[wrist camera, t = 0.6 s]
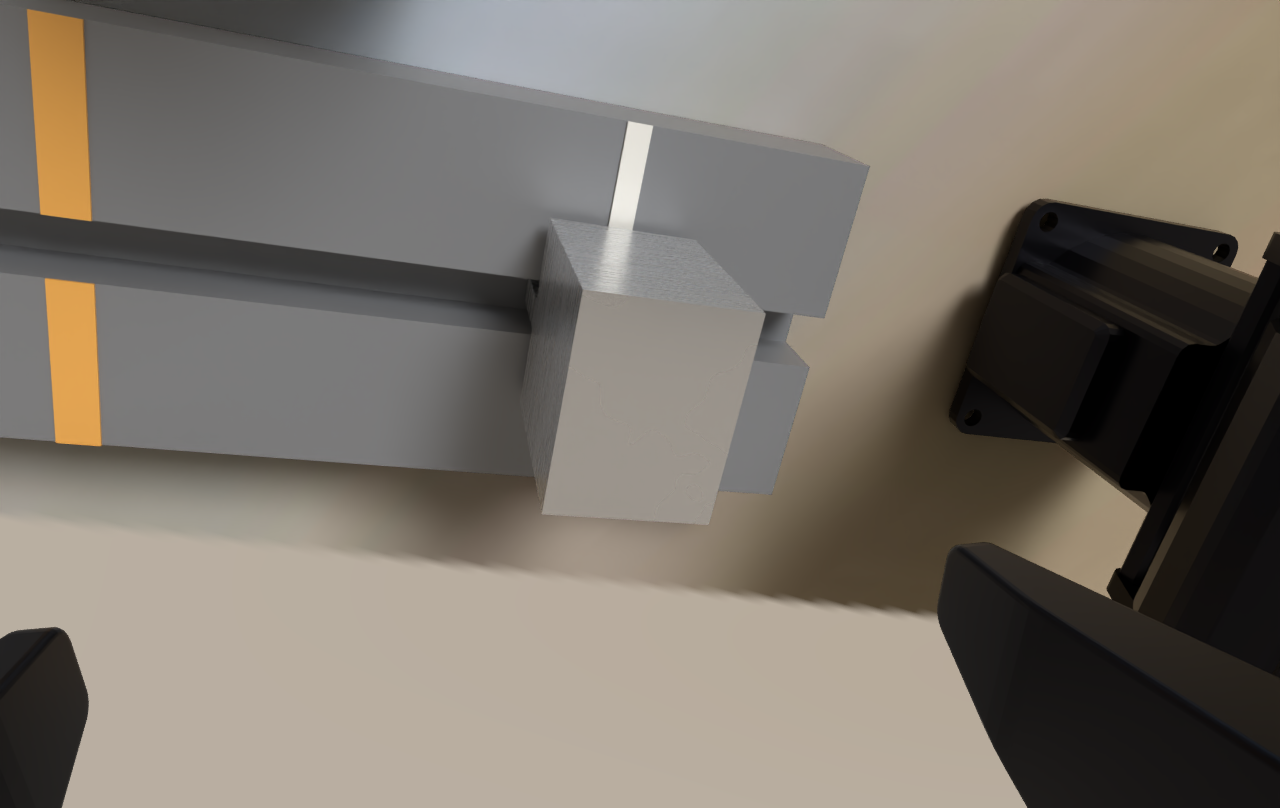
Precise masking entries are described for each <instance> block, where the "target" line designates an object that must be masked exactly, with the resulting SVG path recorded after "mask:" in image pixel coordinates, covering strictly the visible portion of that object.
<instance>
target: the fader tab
mask: <svg viewBox="0 0 1280 808" xmlns="http://www.w3.org/2000/svg"><path fill="white" fill-rule="evenodd" d="M525 303H526V307H527V311H528V315H529V318H530V322H531V326H532V332H531V338H530V344H529V350H528V356H527V362H526V368H525V375H524V381H523V387H522V393H521V399H520V405H521V410H522V416H523V421H524V426H525V431H526V436H527V441H528V446H529V451H530V457H531V462H532V467H533V472H534V477H535V482H536V487H537V492H538V498H539V503H540V508H541V513H542V514H544V515H560V516H576V517H592V518H608V519H623V520H639V521H655V522H671V523H687V524H702V525H709V522H710V518H711V515H712V511H713V507H714V504H715V500H716V496H717V492H718V489H719V485H720V481H721V478H722V474H723V470H724V467H725V463H726V459H727V456H728V452H729V448H730V444H731V441H732V437H733V433H734V430H735V426H736V422H737V419H738V415H739V411H740V408H741V404H742V400H743V396H744V393H745V389H746V385H747V382H748V378H749V374H750V371H751V367H752V363H753V360H754V356H755V352H756V348H757V345H758V341H759V337H760V334H761V330H762V326H763V323H764V319H765V315H766V313H765V312H764V311H763V310H762V309H761V308H760V307H759V306H758V305H757V304H756V303H755V302H754V301H753V300H752V299H751V298H750V297H749V296H748V294H747V293H746V292H745V291H744V290H743V289H742V288H741V287H740V286H739V285H738V284H737V283H736V282H735V281H734V280H733V279H732V278H731V277H730V276H729V275H728V274H727V273H726V271H725V270H724V269H723V268H722V267H721V266H720V265H719V264H718V263H717V262H716V261H715V260H714V259H713V258H712V257H711V256H710V255H709V254H708V253H707V252H706V251H705V249H704V248H703V247H702V246H701V245H700V244H699V243H698V242H697V241H696V240H692V239H686V238H679V237H673V236H666V235H660V234H653V233H647V232H640V231H634V230H627V229H621V228H614V227H607V226H601V225H594V224H588V223H581V222H575V221H568V220H562V219H555V218H550V221H549V227H548V233H547V239H546V245H545V251H544V258H543V264H542V270H541V276H540V280H534V279H528V283H527V289H526V296H525Z"/></svg>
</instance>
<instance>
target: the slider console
mask: <svg viewBox="0 0 1280 808" xmlns="http://www.w3.org/2000/svg"><path fill="white" fill-rule="evenodd" d="M869 167H870V166H868V165H866V164H864V163H862V162H860V161H857V160H855V159H853V158H851V157H849V156H846V155H844V154H842V153H840V152H838V151H835V150H833V149H831V148H829V147H827V146H825V145H822V144H817V143H812V142H807V141H801V140H796V139H791V138H786V137H781V136H775V135H770V134H765V133H760V132H754V131H749V130H744V129H739V128H733V127H728V126H723V125H718V124H712V123H707V122H702V121H697V120H692V119H686V118H681V117H676V116H671V115H665V114H660V113H655V112H650V111H644V110H639V109H634V108H629V107H624V106H618V105H613V104H608V103H603V102H597V101H592V100H587V99H582V98H576V97H571V96H566V95H561V94H555V93H550V92H545V91H540V90H535V89H529V88H524V87H519V86H514V85H508V84H503V83H498V82H493V81H487V80H482V79H477V78H472V77H467V76H461V75H456V74H451V73H446V72H440V71H435V70H430V69H425V68H419V67H414V66H409V65H404V64H398V63H393V62H388V61H383V60H378V59H372V58H367V57H362V56H357V55H351V54H346V53H341V52H336V51H330V50H325V49H320V48H315V47H310V46H304V45H299V44H294V43H289V42H283V41H278V40H273V39H268V38H262V37H257V36H252V35H247V34H241V33H236V32H231V31H226V30H221V29H215V28H210V27H205V26H200V25H194V24H189V23H184V22H179V21H173V20H168V19H163V18H158V17H152V16H147V15H142V14H137V13H132V12H126V11H121V10H116V9H111V8H105V7H100V6H95V5H90V4H84V3H79V2H74V1H69V0H0V437H3V438H16V439H30V440H43V441H56V443H63V444H77V445H91V446H102V445H111V446H124V447H137V448H151V449H164V450H178V451H191V452H205V453H218V454H231V455H245V456H258V457H272V458H285V459H299V460H312V461H326V462H339V463H352V464H366V465H379V466H393V467H406V468H420V469H433V470H447V471H460V472H473V473H487V474H500V475H514V476H527V477H534V472H533V467H532V462H531V457H530V451H529V446H528V441H527V436H526V431H525V426H524V421H523V416H522V410H521V405H520V399H521V393H522V387H523V381H524V375H525V368H526V362H527V356H528V350H529V344H530V338H531V332H532V326H531V322H530V318H529V315H528V311H527V307H526V303H525V296H526V289H527V283H528V279H534V280H540V276H541V270H542V264H543V258H544V251H545V245H546V239H547V233H548V227H549V221H550V218H555V219H562V220H568V221H575V222H581V223H588V224H594V225H601V226H607V227H614V228H621V229H627V230H634V231H640V232H647V233H653V234H660V235H666V236H673V237H679V238H686V239H692V240H696V241H697V242H698V243H699V244H700V245H701V246H702V247H703V248H704V249H705V251H706V252H707V253H708V254H709V255H710V256H711V257H712V258H713V259H714V260H715V261H716V262H717V263H718V264H719V265H720V266H721V267H722V268H723V269H724V270H725V271H726V273H727V274H728V275H729V276H730V277H731V278H732V279H733V280H734V281H735V282H736V283H737V284H738V285H739V286H740V287H741V288H742V289H743V290H744V291H745V292H746V293H747V294H748V296H749V297H750V298H751V299H752V300H753V301H754V302H755V303H756V304H757V305H758V306H759V307H760V308H761V309H762V310H763V311H764V312H765V313H766V315H765V319H764V323H763V326H762V330H761V334H760V337H759V341H758V345H757V348H756V352H755V356H754V360H753V363H752V367H751V371H750V374H749V378H748V382H747V385H746V389H745V393H744V396H743V400H742V404H741V408H740V411H739V415H738V419H737V422H736V426H735V430H734V433H733V437H732V441H731V444H730V448H729V452H728V456H727V459H726V463H725V467H724V470H723V474H722V478H721V481H720V485H719V489H718V491H729V492H742V493H756V494H769V495H772V492H773V488H774V485H775V482H776V478H777V475H778V471H779V468H780V465H781V461H782V458H783V455H784V451H785V448H786V445H787V441H788V438H789V435H790V431H791V428H792V425H793V421H794V418H795V415H796V411H797V408H798V405H799V401H800V398H801V395H802V391H803V388H804V385H805V381H806V378H807V374H808V371H809V368H810V367H809V366H808V365H807V364H806V363H805V362H804V361H803V360H802V359H801V358H800V357H799V356H798V354H797V353H796V352H795V351H794V350H793V349H792V348H791V347H790V346H789V345H788V344H787V343H786V338H787V335H788V331H789V328H790V324H791V321H792V317H793V314H795V315H803V316H810V317H817V318H825V314H826V311H827V308H828V304H829V301H830V298H831V294H832V291H833V287H834V284H835V281H836V277H837V274H838V271H839V267H840V264H841V261H842V257H843V254H844V251H845V247H846V244H847V241H848V237H849V234H850V231H851V227H852V224H853V221H854V217H855V214H856V211H857V207H858V204H859V201H860V197H861V194H862V190H863V187H864V184H865V180H866V177H867V174H868V170H869Z"/></svg>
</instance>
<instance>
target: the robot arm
mask: <svg viewBox="0 0 1280 808" xmlns="http://www.w3.org/2000/svg"><path fill="white" fill-rule="evenodd" d="M1046 213H1048V214H1049V215H1048V220H1047V222H1046V223H1045V225H1043V226H1042V227H1040V226H1039V224H1040V220H1041V218H1042V217H1043V215H1045V214H1046ZM1216 247H1218V250H1217V251H1216V253H1215V254H1214V255H1213V252H1214V250H1215V249H1216ZM1237 250H1238V242H1237V240H1236V238H1235V237H1233V236H1231V235H1229V234H1226V233H1223V232H1220V231H1217V230H1211V229H1206V228H1201V227H1195V226H1190V225H1185V224H1179V223H1174V222H1169V221H1163V220H1158V219H1152V218H1147V217H1142V216H1136V215H1131V214H1126V213H1120V212H1115V211H1110V210H1104V209H1099V208H1094V207H1088V206H1083V205H1078V204H1072V203H1067V202H1062V201H1056V200H1051V199H1039V200H1037V201H1034V202H1032V203H1031V204H1030V205H1029V206H1028V207H1027V208H1026V210H1025V212H1024V214H1023V216H1022V218H1021V221H1020V224H1019V226H1018V229H1017V232H1016V234H1015V237H1014V240H1013V242H1012V245H1011V248H1010V250H1009V253H1008V256H1007V258H1006V261H1005V264H1004V266H1003V269H1002V272H1001V274H1000V277H999V279H998V281H997V283H996V285H995V288H994V291H993V293H992V296H991V299H990V301H989V304H988V307H987V309H986V312H985V315H984V317H983V320H982V323H981V325H980V328H979V331H978V333H977V336H976V339H975V342H974V344H973V347H972V350H971V352H970V355H969V358H968V360H967V365H966V368H965V371H964V373H963V376H962V379H961V381H960V384H959V387H958V389H957V392H956V395H955V397H954V400H953V403H952V405H951V408H950V412H949V419H950V422H951V423H952V424H953V425H954V426H955V427H956V428H957V429H958V430H960V431H961V432H963V433H966V434H973V435H983V436H993V437H1003V438H1012V439H1022V440H1032V441H1042V442H1052V443H1057V444H1059V445H1060V446H1061V447H1063V448H1064V449H1065V450H1067V451H1068V452H1069V453H1070V454H1072V455H1073V456H1074V457H1076V458H1077V459H1078V460H1080V461H1081V462H1082V463H1084V464H1085V465H1086V466H1087V467H1089V468H1090V469H1091V470H1093V471H1094V472H1095V473H1097V474H1098V475H1099V476H1101V477H1102V478H1103V479H1104V480H1106V481H1107V482H1108V483H1110V484H1111V485H1112V486H1114V487H1115V488H1116V489H1118V490H1119V491H1120V492H1121V493H1123V494H1124V495H1125V496H1127V497H1128V498H1129V499H1131V500H1132V501H1133V502H1135V503H1136V504H1137V505H1138V506H1140V507H1141V508H1142V509H1144V510H1145V511H1146V512H1148V513H1147V515H1146V517H1145V519H1144V521H1143V523H1142V525H1141V527H1140V529H1139V532H1138V534H1137V536H1136V538H1135V540H1134V542H1133V544H1132V546H1131V548H1130V551H1129V553H1128V555H1127V557H1126V559H1125V561H1124V563H1123V565H1122V568H1117V569H1116V570H1115V571H1114V573H1113V575H1112V578H1111V580H1110V582H1109V584H1108V586H1107V588H1106V589H1107V592H1108V593H1109V595H1110V597H1111V599H1109V598H1107V597H1105V596H1103V595H1101V594H1099V593H1097V592H1094V591H1092V590H1090V589H1088V588H1086V587H1084V586H1082V585H1079V584H1077V583H1075V582H1073V581H1071V580H1069V579H1067V578H1064V577H1062V576H1060V575H1058V574H1056V573H1054V572H1052V571H1049V570H1047V569H1045V568H1043V567H1041V566H1039V565H1037V564H1034V563H1032V562H1030V561H1028V560H1026V559H1024V558H1022V557H1019V556H1017V555H1015V554H1013V553H1011V552H1009V551H1007V550H1004V549H1002V548H1000V547H998V546H996V545H994V544H991V543H986V542H983V543H972V544H961V545H956V546H954V547H953V548H952V549H951V550H950V551H949V553H948V556H947V559H946V564H945V569H944V574H943V579H942V584H941V589H940V594H939V599H938V606H937V614H938V620H939V624H940V627H941V630H942V632H943V634H944V637H945V639H946V641H947V643H948V646H949V648H950V650H951V653H952V655H953V657H954V659H955V662H956V664H957V666H958V669H959V671H960V673H961V675H962V678H963V680H964V682H965V685H966V687H967V689H968V691H969V694H970V696H971V698H972V701H973V703H974V705H975V707H976V710H977V712H978V714H979V717H980V719H981V721H982V723H983V725H984V728H985V730H986V732H987V734H988V736H989V738H990V740H991V742H992V745H993V747H994V749H995V751H996V752H997V754H998V756H999V758H1000V760H1001V762H1002V763H1003V765H1004V767H1005V769H1006V771H1007V772H1008V774H1009V776H1010V778H1011V780H1012V781H1013V783H1014V785H1015V787H1016V788H1017V790H1018V791H1019V794H1020V795H1021V797H1022V799H1023V801H1024V802H1025V804H1026V806H1027V808H1280V232H1274V233H1273V235H1272V238H1271V240H1270V242H1269V244H1268V246H1267V248H1266V250H1265V252H1264V255H1263V257H1262V258H1264V259H1266V260H1267V261H1266V263H1265V265H1264V268H1263V270H1262V272H1261V274H1260V276H1259V278H1257V277H1254V276H1252V275H1249V274H1247V273H1244V272H1241V271H1239V270H1236V269H1233V268H1231V265H1232V263H1233V261H1234V258H1235V256H1236V254H1237ZM971 410H974V412H973V414H972V415H971V417H969V418H968V419H965V416H966V414H967V413H968V412H970V411H971ZM88 704H89V701H88V693H87V689H86V686H85V683H84V680H83V677H82V675H81V671H80V668H79V665H78V662H77V659H76V656H75V653H74V650H73V646H72V643H71V641H70V639H69V637H68V635H67V633H66V632H65V631H64V630H62V629H60V628H57V627H51V628H39V629H27V630H18V631H14V632H11V633H9V634H7V635H6V636H4V637H3V638H1V639H0V808H62V805H63V801H64V797H65V794H66V790H67V787H68V784H69V780H70V777H71V773H72V770H73V766H74V762H75V759H76V755H77V752H78V748H79V745H80V741H81V738H82V734H83V731H84V727H85V724H86V720H87V715H88V706H89V705H88Z"/></svg>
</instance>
